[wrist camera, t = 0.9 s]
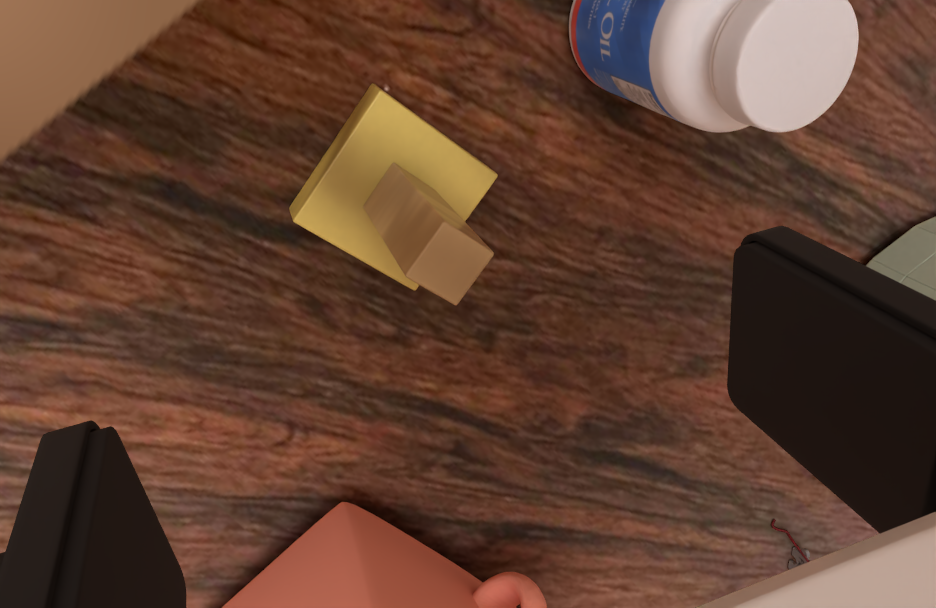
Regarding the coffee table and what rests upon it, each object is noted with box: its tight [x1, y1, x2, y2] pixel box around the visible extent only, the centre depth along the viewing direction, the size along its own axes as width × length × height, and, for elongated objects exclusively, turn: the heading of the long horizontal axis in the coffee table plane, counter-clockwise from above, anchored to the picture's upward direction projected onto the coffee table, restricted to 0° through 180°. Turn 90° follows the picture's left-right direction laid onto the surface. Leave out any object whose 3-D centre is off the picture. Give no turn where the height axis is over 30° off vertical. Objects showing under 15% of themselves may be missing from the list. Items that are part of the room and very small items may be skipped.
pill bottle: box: [569, 0, 859, 132], centre depth 24 cm, size 6×5×10 cm
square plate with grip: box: [289, 83, 498, 305], centre depth 25 cm, size 6×6×8 cm
